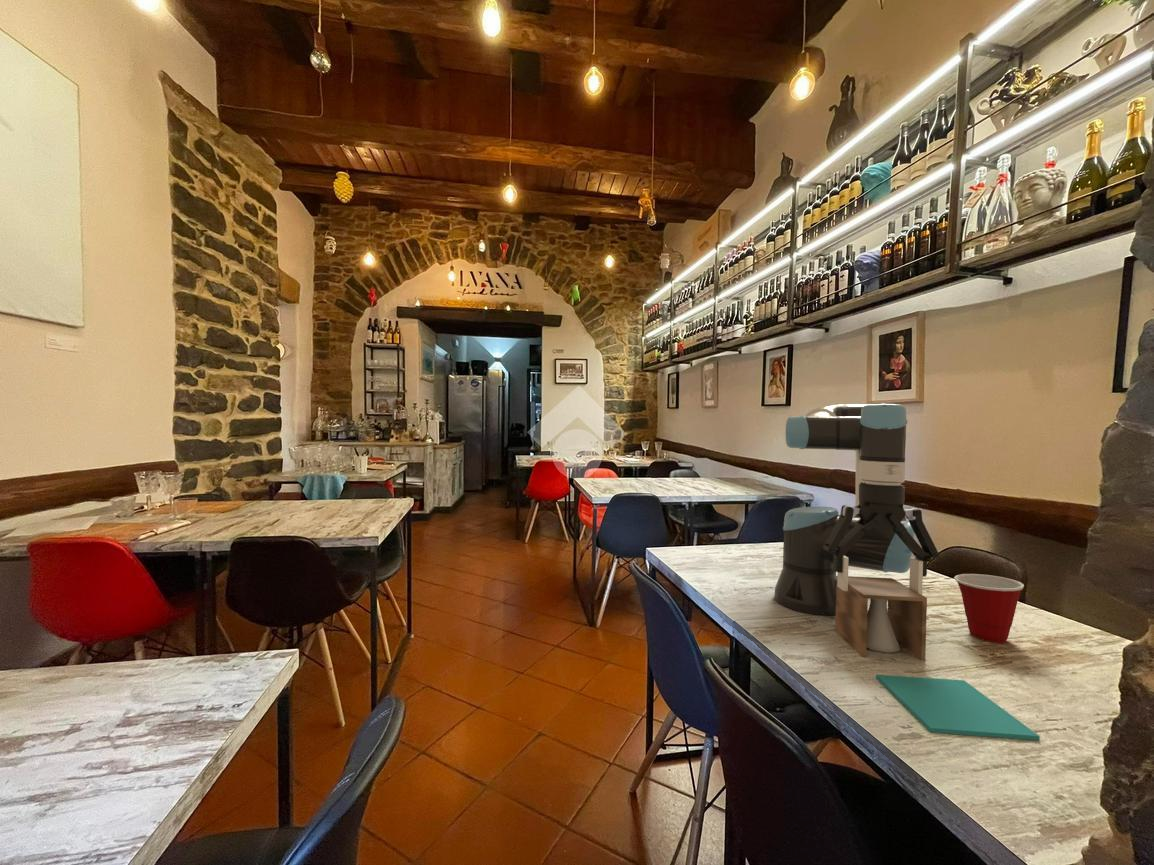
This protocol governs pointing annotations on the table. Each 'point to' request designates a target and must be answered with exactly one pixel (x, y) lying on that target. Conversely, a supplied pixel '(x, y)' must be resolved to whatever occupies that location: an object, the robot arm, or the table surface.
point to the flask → (880, 628)
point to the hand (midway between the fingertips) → (878, 590)
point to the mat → (954, 707)
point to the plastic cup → (989, 605)
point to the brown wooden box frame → (902, 611)
